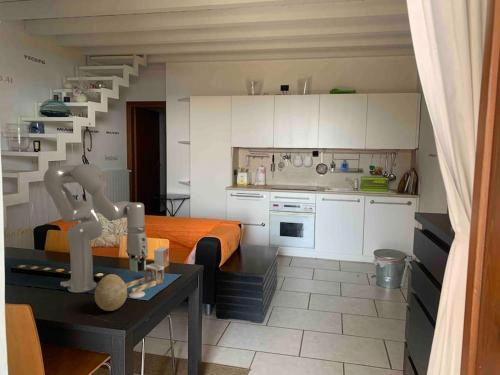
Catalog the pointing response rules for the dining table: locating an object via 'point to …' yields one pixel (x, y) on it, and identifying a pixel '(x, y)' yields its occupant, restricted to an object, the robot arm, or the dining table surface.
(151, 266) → the tunnel
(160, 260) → the small box
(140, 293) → the coaster
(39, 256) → the dining table surface
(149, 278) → the push bar
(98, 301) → the fossilized egg
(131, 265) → the block
